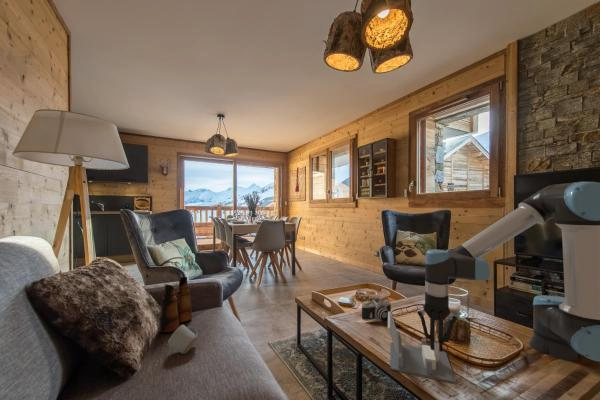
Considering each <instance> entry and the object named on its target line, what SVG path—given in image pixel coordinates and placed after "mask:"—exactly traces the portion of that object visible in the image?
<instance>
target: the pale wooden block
mask: <svg viewBox="0 0 600 400" xmlns="http://www.w3.org/2000/svg"><path fill="white" fill-rule="evenodd" d="M421 348H422V356H423V361H424V365H425V368H426V359H431V361H432V370H436V359H435V355H434V352H433V350H431V348H430V345H427V344H426V345H422V344H421Z"/></svg>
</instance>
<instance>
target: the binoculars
mask: <svg viewBox="0 0 600 400" xmlns="http://www.w3.org/2000/svg"><path fill="white" fill-rule="evenodd" d="M177 288H178V289H177V291H175V287H174V286H173V285H171V284H165V285H164V294H163V297H162V299H161V308H160V316H159V327H158V331H159V332H160V333H162V334H163V333H171V332H175V331H176V330H177V329H178V328H179V327H180V323H184V322H187V321H189V320H191V319H192V318H193V313H192V311H193V310H192V302H191V300H192V299H191V290H190V288H189V285H188V277H187V276H181V278H180V279H179V281H178V286H177Z"/></svg>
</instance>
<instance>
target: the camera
mask: <svg viewBox="0 0 600 400" xmlns="http://www.w3.org/2000/svg"><path fill="white" fill-rule="evenodd" d="M391 308H392V305H391V301H389V300H388V299H384V300H383V299H381V298H373V299H372V300H367V301H363V302H362V303H361V319H362V321H365V322H366V321H379V320H380V321H381V322H388V312H389V311H390V313H391V314H392V311H391V310H392V309H391Z"/></svg>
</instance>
